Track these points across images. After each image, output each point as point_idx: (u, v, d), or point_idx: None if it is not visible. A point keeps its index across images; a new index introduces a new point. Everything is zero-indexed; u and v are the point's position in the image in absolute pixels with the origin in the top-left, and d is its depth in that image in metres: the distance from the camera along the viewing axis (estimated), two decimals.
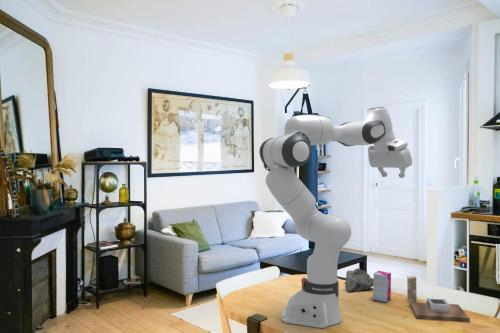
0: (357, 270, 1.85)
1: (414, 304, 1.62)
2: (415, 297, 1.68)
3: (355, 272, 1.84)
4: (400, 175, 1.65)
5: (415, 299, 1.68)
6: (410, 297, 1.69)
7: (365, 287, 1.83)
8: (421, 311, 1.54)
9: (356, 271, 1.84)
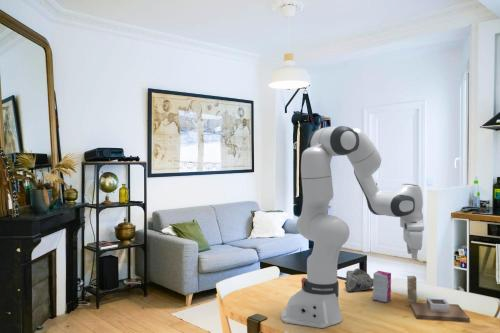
0: (357, 270, 1.84)
1: (414, 304, 1.62)
2: (415, 297, 1.68)
3: (355, 272, 1.84)
4: (412, 256, 1.65)
5: (415, 299, 1.68)
6: (410, 297, 1.69)
7: (365, 287, 1.83)
8: (421, 311, 1.54)
9: (356, 271, 1.84)
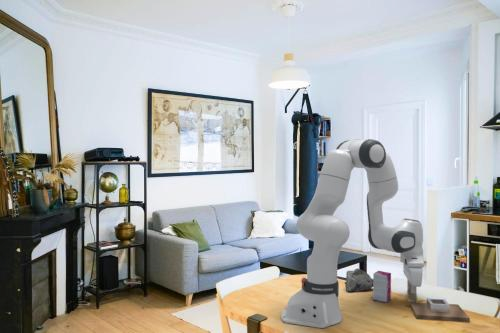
0: (357, 270, 1.84)
1: (414, 304, 1.62)
2: (415, 297, 1.68)
3: (355, 272, 1.84)
4: (410, 289, 1.68)
5: (415, 299, 1.68)
6: (410, 297, 1.69)
7: (365, 288, 1.83)
8: (421, 311, 1.54)
9: (356, 271, 1.84)
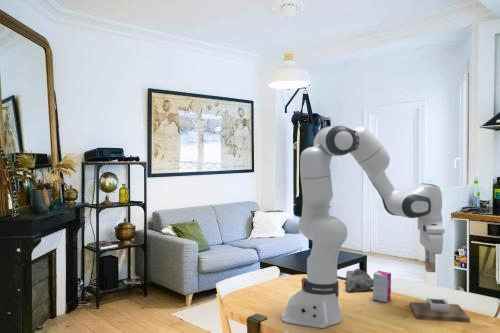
0: (357, 270, 1.84)
1: (414, 304, 1.62)
2: (434, 267, 1.58)
3: (355, 272, 1.84)
4: (429, 259, 1.58)
5: (434, 269, 1.58)
6: (428, 267, 1.58)
7: (365, 288, 1.82)
8: (421, 311, 1.54)
9: (356, 271, 1.84)
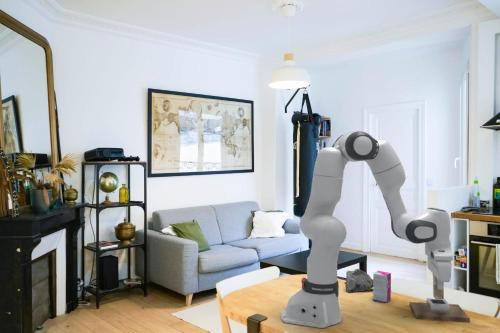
0: (357, 270, 1.84)
1: (414, 304, 1.62)
2: (442, 293, 1.54)
3: (355, 272, 1.84)
4: (437, 285, 1.54)
5: (442, 296, 1.54)
6: (437, 293, 1.55)
7: (365, 288, 1.82)
8: (421, 311, 1.54)
9: (356, 271, 1.84)
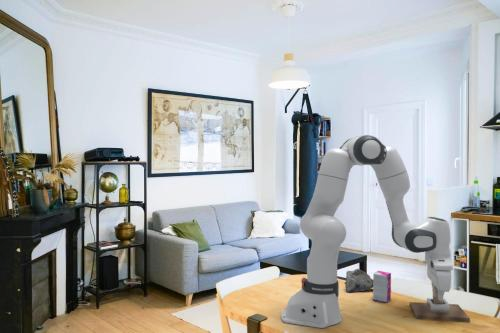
0: (357, 271, 1.84)
1: (414, 304, 1.62)
2: None
3: (355, 272, 1.83)
4: (437, 296, 1.52)
5: None
6: None
7: (365, 288, 1.82)
8: (421, 311, 1.54)
9: (356, 271, 1.84)
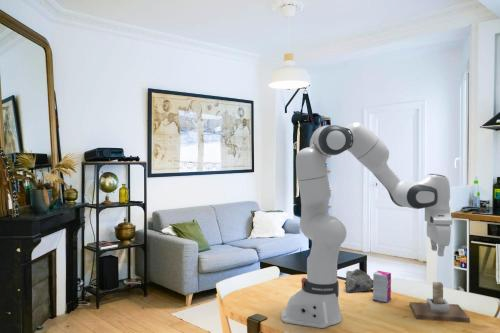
0: (357, 271, 1.83)
1: (414, 304, 1.62)
2: None
3: (355, 273, 1.83)
4: (438, 252, 1.51)
5: None
6: None
7: (365, 288, 1.82)
8: (421, 311, 1.54)
9: (356, 272, 1.83)
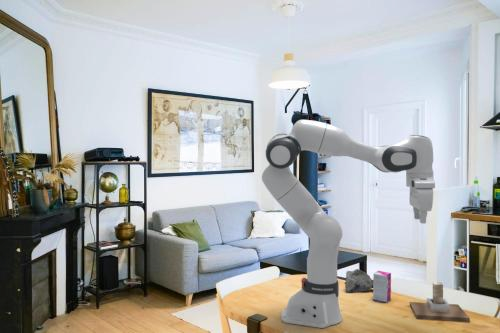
0: (357, 271, 1.83)
1: (414, 304, 1.62)
2: None
3: (355, 273, 1.83)
4: (420, 219, 1.39)
5: None
6: None
7: (365, 288, 1.81)
8: (421, 311, 1.54)
9: (356, 272, 1.83)
